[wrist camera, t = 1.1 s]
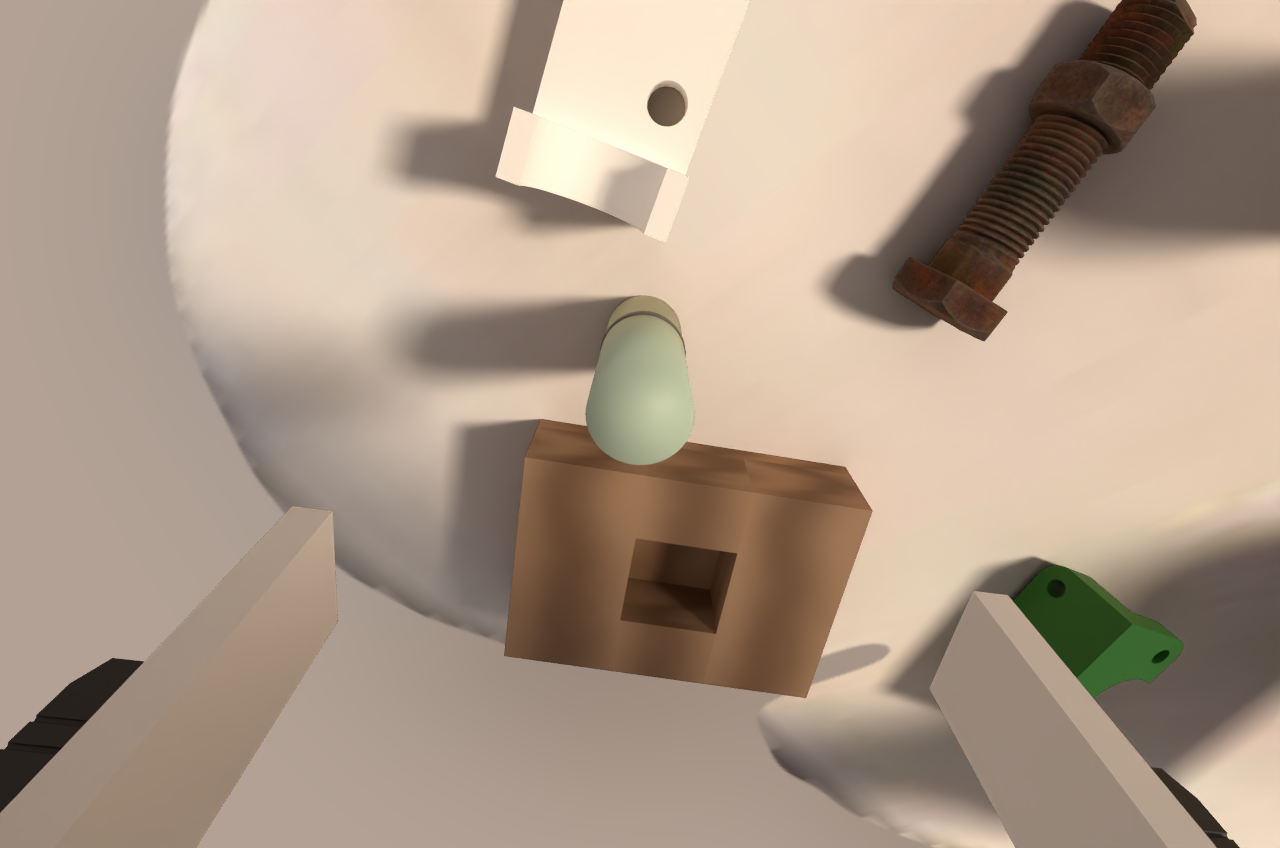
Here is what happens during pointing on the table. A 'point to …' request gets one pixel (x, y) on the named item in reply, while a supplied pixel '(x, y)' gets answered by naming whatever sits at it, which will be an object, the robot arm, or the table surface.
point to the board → (681, 562)
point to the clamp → (1095, 630)
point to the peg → (641, 385)
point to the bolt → (1051, 161)
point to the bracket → (622, 105)
